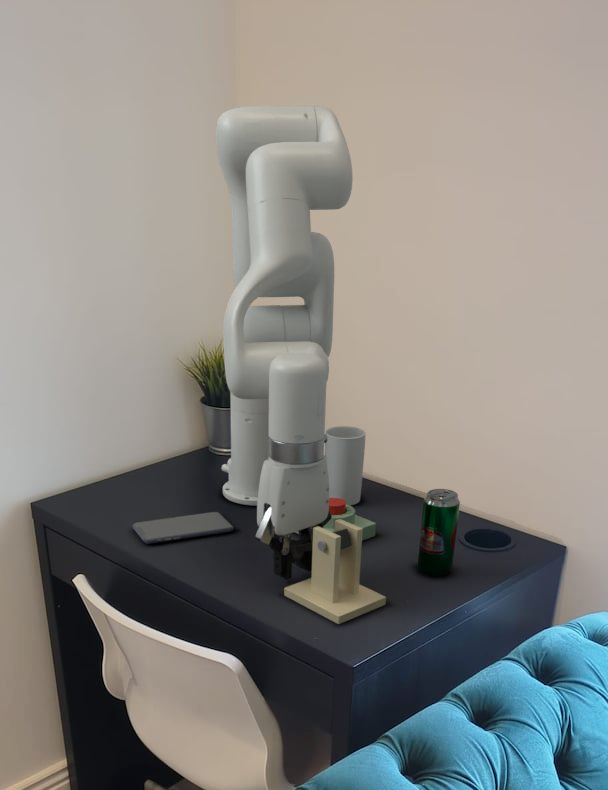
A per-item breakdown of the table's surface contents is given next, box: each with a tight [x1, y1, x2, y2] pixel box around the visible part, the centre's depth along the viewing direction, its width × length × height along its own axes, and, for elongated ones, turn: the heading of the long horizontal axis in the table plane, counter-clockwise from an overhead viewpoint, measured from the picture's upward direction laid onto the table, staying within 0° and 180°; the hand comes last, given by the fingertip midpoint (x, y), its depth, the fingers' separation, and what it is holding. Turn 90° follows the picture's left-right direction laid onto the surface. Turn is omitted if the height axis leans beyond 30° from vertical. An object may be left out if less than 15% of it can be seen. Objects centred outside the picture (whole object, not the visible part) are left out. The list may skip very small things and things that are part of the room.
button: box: [329, 498, 346, 515], centre depth 153 cm, size 4×4×2 cm
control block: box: [294, 504, 377, 541], centre depth 154 cm, size 10×9×4 cm
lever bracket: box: [283, 519, 387, 625], centre depth 132 cm, size 11×9×11 cm
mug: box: [324, 425, 367, 506], centre depth 166 cm, size 10×7×12 cm, turn 13°
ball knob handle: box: [289, 529, 352, 563], centre depth 135 cm, size 13×3×3 cm, turn 40°
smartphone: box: [131, 511, 234, 544], centre depth 156 cm, size 8×1×15 cm
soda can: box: [417, 488, 461, 578], centre depth 140 cm, size 5×5×12 cm
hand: (293, 571), depth 140 cm, fingers closed on ball knob handle, 3 cm apart
